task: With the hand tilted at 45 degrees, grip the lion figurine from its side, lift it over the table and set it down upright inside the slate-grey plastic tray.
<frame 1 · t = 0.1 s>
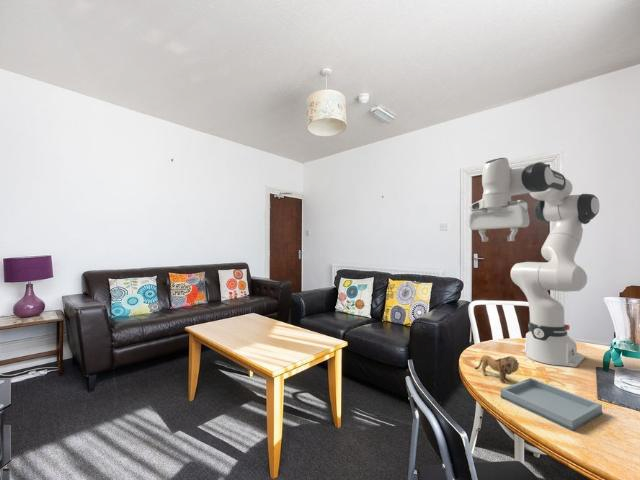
hand: (497, 241, 105), 48 cm above the table, tool pointing down, fingers open, 8 cm apart
lion figurine: (497, 378, 102), on the table
grey tray: (548, 405, 84), on the table
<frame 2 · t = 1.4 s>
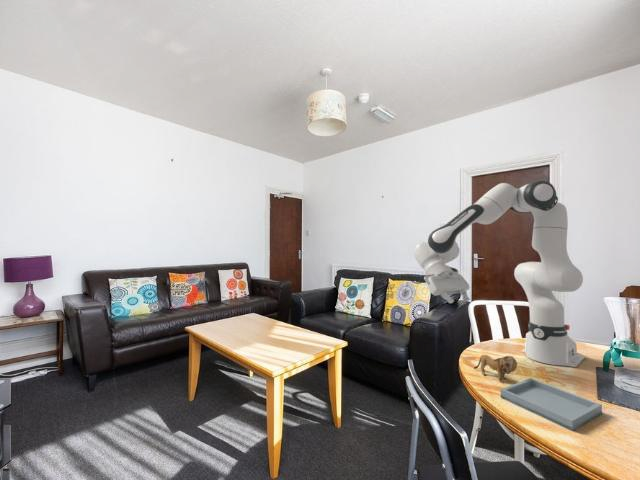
hand: (459, 301, 115), 24 cm above the table, tool tilted 45°, fingers open, 8 cm apart
nothing on the table moved.
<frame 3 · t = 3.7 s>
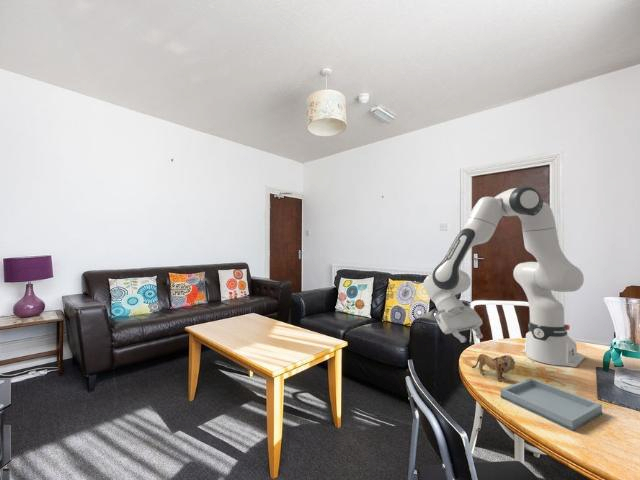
hand: (472, 339, 110), 11 cm above the table, tool tilted 45°, fingers open, 8 cm apart
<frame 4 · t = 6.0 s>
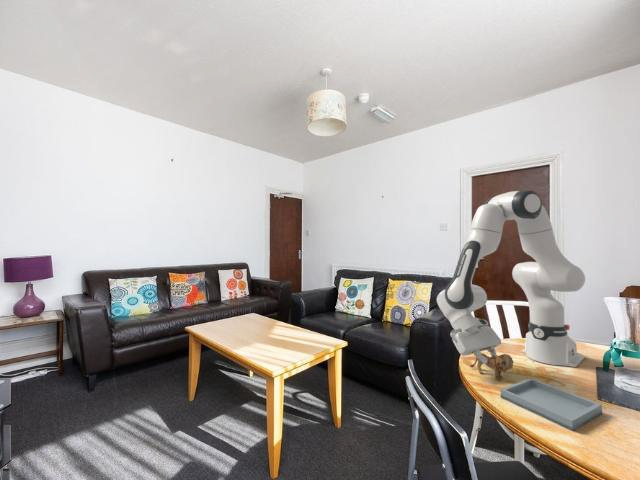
hand: (491, 361, 104), 5 cm above the table, tool tilted 45°, fingers closed on lion figurine, 4 cm apart
lion figurine: (492, 376, 104), on the table, touching gripper
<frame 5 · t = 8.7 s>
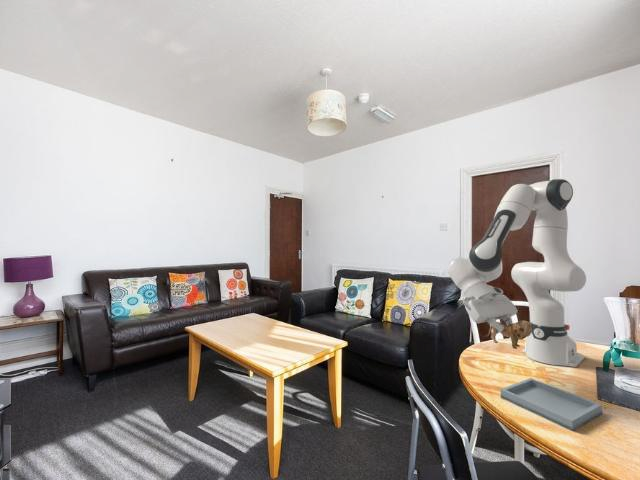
hand: (508, 329, 97), 18 cm above the table, tool tilted 45°, fingers closed on lion figurine, 4 cm apart
lion figurine: (508, 345, 97), point 13 cm above the table, touching gripper
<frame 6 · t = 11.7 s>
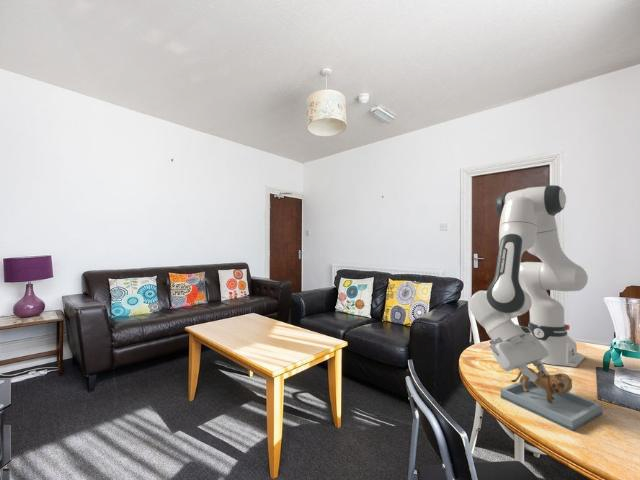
hand: (541, 378, 86), 7 cm above the table, tool tilted 45°, fingers closed on lion figurine, 4 cm apart
lion figurine: (540, 395, 86), point 2 cm above the table, touching grey tray, gripper
when the fingers open (7 cm above the table, at t = 11.9 s): lion figurine stays where it is, resting on grey tray.
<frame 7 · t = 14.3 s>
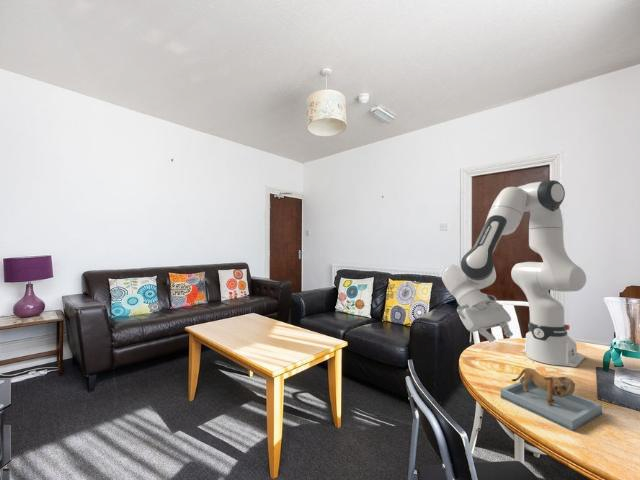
hand: (502, 338, 97), 16 cm above the table, tool tilted 45°, fingers open, 8 cm apart
lion figurine: (540, 396, 87), point 1 cm above the table, touching grey tray
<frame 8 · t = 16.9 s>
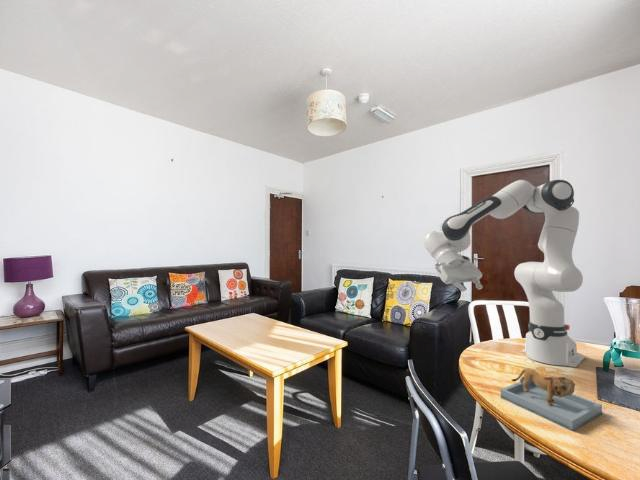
hand: (472, 289, 112), 29 cm above the table, tool tilted 45°, fingers open, 8 cm apart
nothing on the table moved.
at the end: lion figurine inside the target area on the grey tray (2.3 cm from its centre), point 1.3 cm above the grey tray's base; lion figurine tilted 12°; the gripper is holding nothing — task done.
